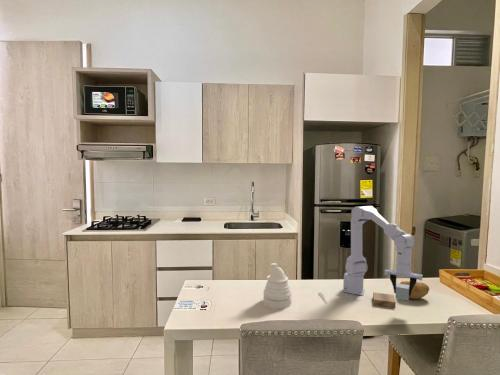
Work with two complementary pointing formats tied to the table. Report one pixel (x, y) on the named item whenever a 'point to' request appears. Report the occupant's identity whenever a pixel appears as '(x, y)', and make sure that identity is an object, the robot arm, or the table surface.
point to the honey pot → (277, 290)
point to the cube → (402, 291)
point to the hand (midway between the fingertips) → (402, 293)
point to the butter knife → (322, 297)
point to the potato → (417, 289)
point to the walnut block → (384, 300)
